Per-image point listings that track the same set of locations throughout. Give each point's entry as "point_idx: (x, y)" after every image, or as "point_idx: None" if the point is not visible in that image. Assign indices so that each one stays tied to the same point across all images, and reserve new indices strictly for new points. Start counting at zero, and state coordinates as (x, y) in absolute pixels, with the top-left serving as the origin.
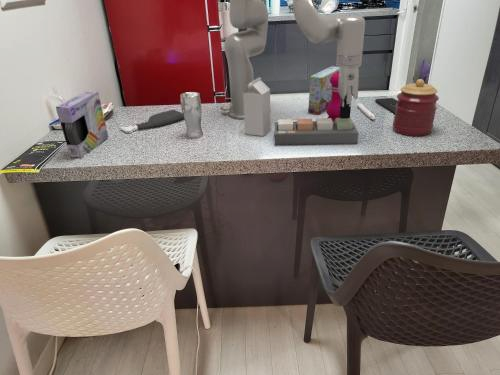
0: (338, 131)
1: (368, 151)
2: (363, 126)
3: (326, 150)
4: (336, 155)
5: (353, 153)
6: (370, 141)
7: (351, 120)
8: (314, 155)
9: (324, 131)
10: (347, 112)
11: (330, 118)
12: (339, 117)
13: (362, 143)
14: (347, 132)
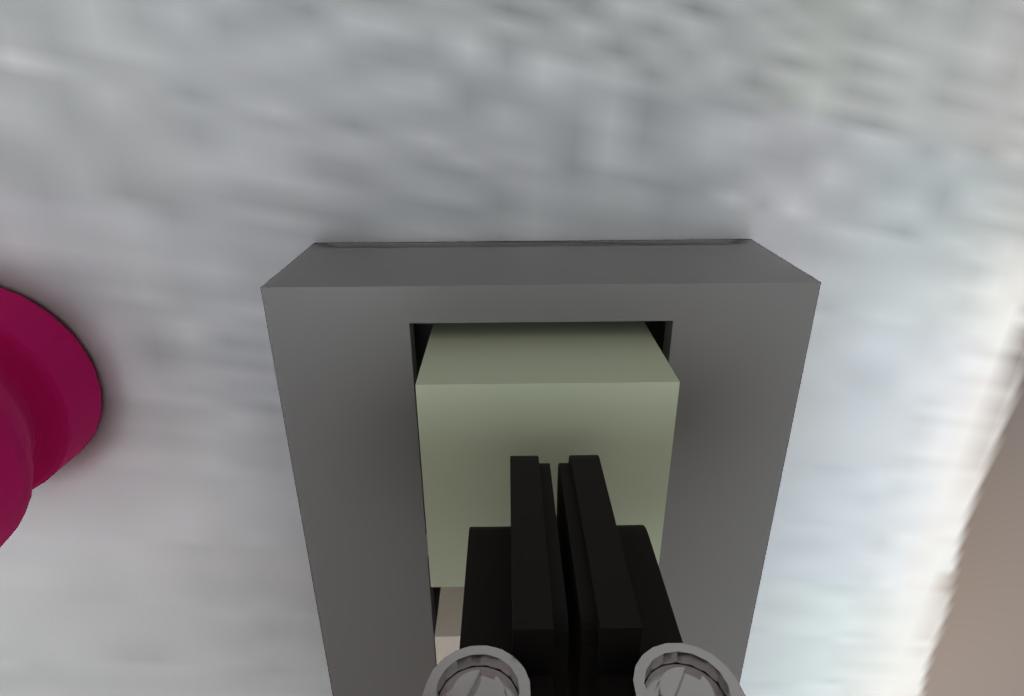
0: (715, 513)
1: (985, 147)
2: (87, 23)
3: (835, 537)
4: (971, 473)
5: (981, 320)
6: (685, 48)
7: (565, 390)
8: (911, 624)
9: (684, 641)
10: (656, 585)
11: (448, 643)
12: (6, 391)
13: (733, 171)
14: (777, 421)
